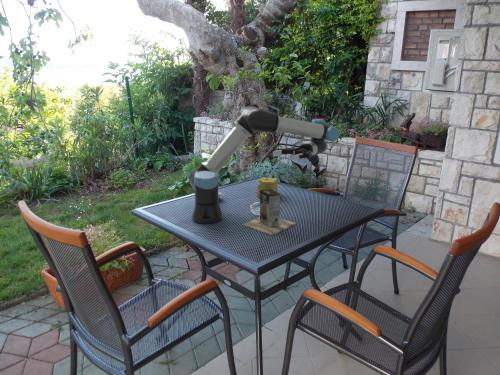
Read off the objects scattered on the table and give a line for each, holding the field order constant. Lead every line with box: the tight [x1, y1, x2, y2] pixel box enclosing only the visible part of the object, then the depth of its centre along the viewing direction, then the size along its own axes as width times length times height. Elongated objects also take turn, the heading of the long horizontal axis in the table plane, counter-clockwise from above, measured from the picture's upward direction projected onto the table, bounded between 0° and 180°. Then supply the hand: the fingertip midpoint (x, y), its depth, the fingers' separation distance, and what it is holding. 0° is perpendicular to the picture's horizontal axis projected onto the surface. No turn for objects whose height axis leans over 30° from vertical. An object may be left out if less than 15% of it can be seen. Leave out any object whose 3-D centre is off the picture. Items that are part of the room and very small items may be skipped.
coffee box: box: [259, 189, 281, 227], centre depth 193 cm, size 9×6×16 cm
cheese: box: [256, 176, 278, 198], centre depth 240 cm, size 10×11×10 cm
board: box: [242, 216, 296, 236], centre depth 196 cm, size 18×18×1 cm
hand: (283, 156), depth 206 cm, fingers open, 13 cm apart
